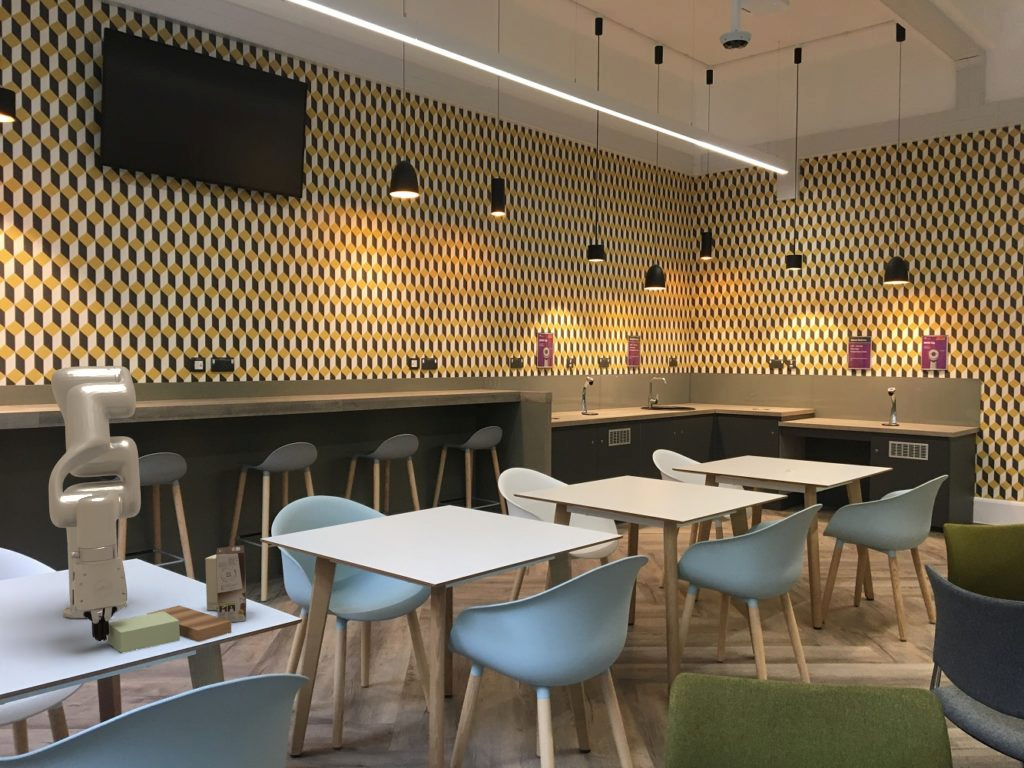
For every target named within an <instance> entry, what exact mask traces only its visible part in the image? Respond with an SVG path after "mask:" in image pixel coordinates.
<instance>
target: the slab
mask: <svg viewBox="0 0 1024 768" xmlns="http://www.w3.org/2000/svg"><path fill="white" fill-rule="evenodd" d="M180 637H181V636H180V631H179V620H177V619H176V618H174V617H172V616H171V615H169V614H167V613H166V612H164V611H162V612H157V613H152V614H147V613H146V614H142V615H138V616H133V617H128V618H122V619H117V620H113V621H109V635H107V643H108V644H109V645H111V646H112V647H113V648H114V647H115V648H114V649H116V650H117V651H118V652H119V651H120V652H119V653H121V654H124V653H123V652H125V653H129V652H132V650H134V651H137V650H136V649H138V650H143V649H147V648H150V646H152V647H155V646H159V645H160V644H161V645H164V644H170V643H173V642H177V641H180V639H181V638H180ZM146 647H147V648H146ZM142 648H143V649H142ZM128 651H129V652H128Z"/></svg>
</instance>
